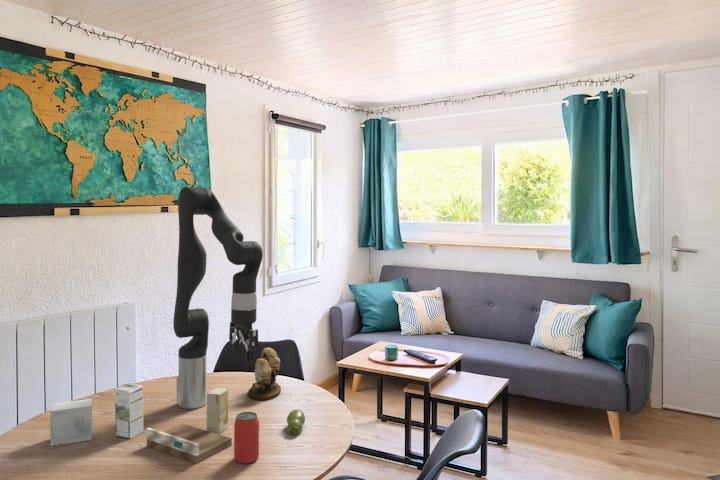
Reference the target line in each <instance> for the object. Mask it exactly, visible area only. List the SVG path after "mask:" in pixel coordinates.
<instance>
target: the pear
mask: <svg viewBox="0 0 720 480" xmlns="http://www.w3.org/2000/svg"><path fill="white" fill-rule="evenodd" d="M305 421H306V416H305V413H304V412H303V411H302V410H300V409H293V410H291V411H290V412H289V413H288V415H287V417H286V423H287V427H286V428H287V429H286V433H287V435H288V436H299V435H301V434H302V432H303V426H304V425H305Z"/></svg>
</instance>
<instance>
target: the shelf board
mask: <svg viewBox="0 0 720 480" xmlns="http://www.w3.org/2000/svg"><path fill="white" fill-rule="evenodd" d="M231 446H232V437H228V436H226V435H223V434H222V435H221V434H216V433H213V432H209V431H207V429H202V428H198V427H195V426H193V425H189V424H186V423H181V424H178V425H176V426H174V427H172V428H169V429H166V430H164V431H160V430H158V429H154V428H152V427H147V428H146V447H148V448H152V449H154V450H156V451H157V450H158V451H161V452H163V453H165V454H169V455H171V456H175V457H177V458H180V459H183V460H186V461H189V462H192V463H195V464H199V463H200V462H203V461H204V460H206V459H208V458H210V457H211V456H213V455H216V454H217V453H219V452H221V451H223V450H225V449H227V448H229V447H231Z"/></svg>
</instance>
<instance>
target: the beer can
mask: <svg viewBox="0 0 720 480" xmlns="http://www.w3.org/2000/svg"><path fill="white" fill-rule="evenodd" d="M233 425H234V426H233V427H234V428H233V429H234V430H233V431H234V434H233V435H234V436H233V437H234V438H233V441H234V443H233V447H234V448H233V453H234V454H233V456H234V457H233V459H234V461H235V462H236V463H239V464H244V465H245V464H251V463H253V462H255V461H257V460H258V458H259V457H260V456H259V455H260V440H259V439H260V421H259V417H258V414H257V413H256V412H254V411H244V412H239V413H238V414H236V416H235V420H234V424H233Z"/></svg>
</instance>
